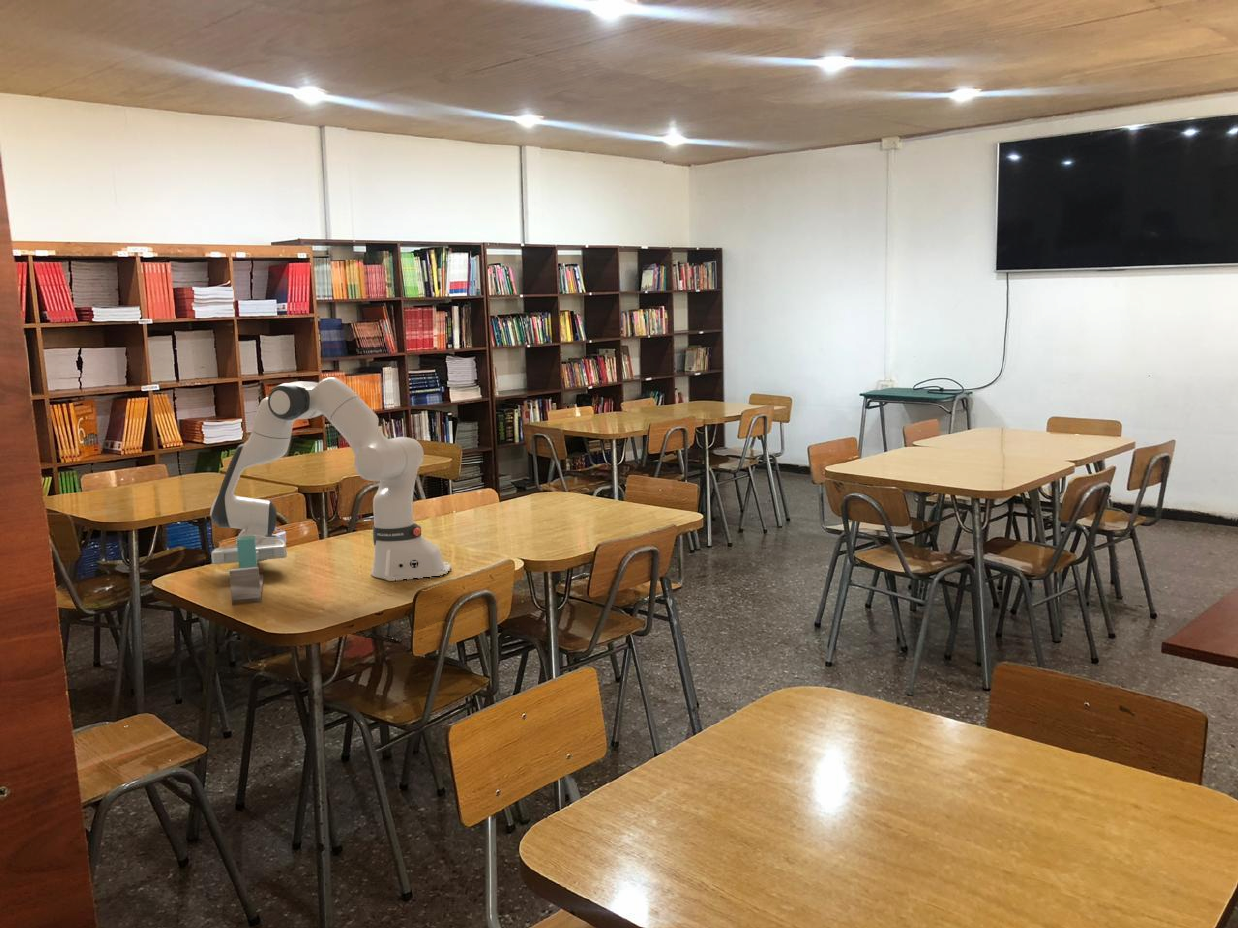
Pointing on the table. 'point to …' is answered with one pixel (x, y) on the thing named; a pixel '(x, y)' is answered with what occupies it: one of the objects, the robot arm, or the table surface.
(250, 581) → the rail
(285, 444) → the robot arm
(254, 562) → the block
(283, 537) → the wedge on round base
